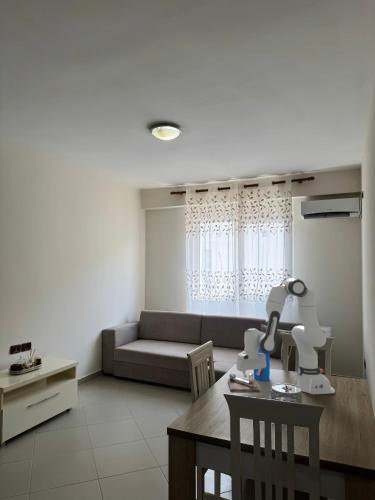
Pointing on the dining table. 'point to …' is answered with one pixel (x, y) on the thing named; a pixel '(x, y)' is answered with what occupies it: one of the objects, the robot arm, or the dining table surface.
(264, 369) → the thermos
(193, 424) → the dining table surface
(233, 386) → the press base
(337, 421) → the dining table surface
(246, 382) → the lever
